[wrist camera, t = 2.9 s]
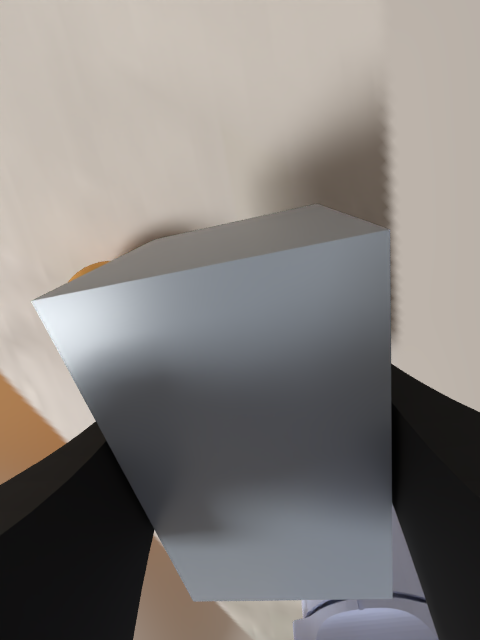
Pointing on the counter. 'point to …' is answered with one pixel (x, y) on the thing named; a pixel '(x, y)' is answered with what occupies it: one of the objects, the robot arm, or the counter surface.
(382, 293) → the tall gray prism
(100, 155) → the counter surface
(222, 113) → the counter surface
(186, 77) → the counter surface
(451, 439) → the robot arm
